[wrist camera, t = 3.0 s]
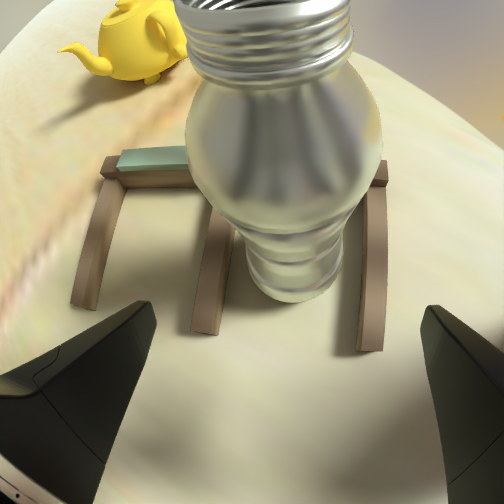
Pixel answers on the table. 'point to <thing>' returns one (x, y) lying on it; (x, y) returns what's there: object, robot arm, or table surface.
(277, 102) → the plastic bottle
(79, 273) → the comb rack
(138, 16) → the teapot
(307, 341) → the table surface
